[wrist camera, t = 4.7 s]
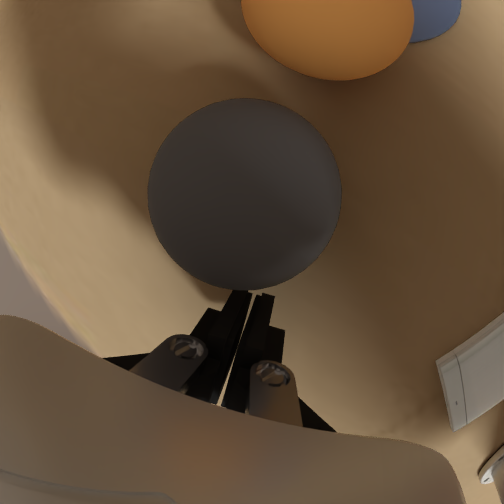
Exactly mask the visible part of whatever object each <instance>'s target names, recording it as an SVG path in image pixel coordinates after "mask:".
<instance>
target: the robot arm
mask: <svg viewBox="0 0 504 504" xmlns="http://www.w3.org/2000/svg"><path fill="white" fill-rule="evenodd" d="M251 298H252V293H249V292H248V290H233V291H232V293H231V295H230V296H229V298H228V300H227V302H226V304H225V305H224V307H223V309H222V311H218V310H215V309H211V308H208V309H207V310H206V312H205V313H204V315H203V316H202V318H201V319H200V321H199V322H198V324H197V325H196V327H195V328H194V330H193V331H192V333H191V334H190V335H184V334H180V335H173V336H171V337H169V338H167V339H166V340H165V341H164V342H162V343H161V344H160V345H159V346H158V347H156V348H155V349H154V350H153V351H152V352H151V353H145V354H137V355H128V356H119V357H108V358H100V357H98V356H97V355H95V354H93V353H91V352H89V351H87V350H85V349H84V348H82V347H80V346H78V345H76V344H75V343H73V342H71V341H69V340H67V339H65V338H64V337H62V336H60V335H58V334H57V333H55V332H53V331H51V330H49V329H47V328H45V327H43V326H41V325H39V324H37V323H35V322H32V321H29V320H27V319H23V318H20V317H16V316H10V315H0V504H466V501H465V498H464V494H463V491H462V488H461V486H460V483H459V481H458V478H457V476H456V474H455V471H454V470H453V468H452V466H451V464H450V463H449V461H448V460H447V459H446V458H445V457H444V456H443V455H442V454H440V453H438V452H437V451H435V450H433V449H431V448H428V447H425V446H422V445H419V444H415V443H411V442H407V441H402V440H395V439H388V438H377V437H368V436H360V435H352V434H343V433H337V432H336V431H335V430H334V429H333V428H332V427H331V426H329V425H328V424H327V423H326V422H325V421H324V420H323V419H322V418H321V417H319V416H318V415H317V414H316V413H315V412H314V411H313V410H312V409H311V408H310V407H309V406H307V405H306V404H305V403H304V402H303V401H302V400H301V399H300V398H299V397H298V393H297V387H296V381H295V377H294V374H293V372H292V371H291V370H290V369H289V368H288V367H286V366H285V365H283V364H281V363H282V355H283V346H284V337H285V330H282V329H279V328H275V327H271V326H269V323H270V318H271V313H272V308H273V303H274V299H275V296H272V295H269V294H265V293H262V296H260V295H256V297H255V300H254V303H253V306H252V309H251V311H250V314H249V317H248V320H247V323H246V325H245V328H244V331H243V334H242V330H243V326H244V323H245V319H246V316H247V312H248V309H249V305H250V301H251ZM241 334H242V336H241ZM240 337H241V339H240ZM239 341H240V342H239ZM238 344H239V345H238ZM236 351H237V352H236ZM235 354H236V355H235ZM234 356H235V359H234ZM233 359H234V362H233ZM232 362H233V366H232V369H231V373H230V376H229V380H228V383H227V387H226V390H225V394H224V397H223V401H222V404H221V406H222V407H220V406H217V405H216V404H217V402H218V399H219V397H220V394H221V391H222V389H223V386H224V383H225V381H226V378H227V375H228V373H229V370H230V367H231V365H232ZM211 403H212V404H211ZM213 404H215V405H213ZM223 407H225V408H223ZM479 480H480V483H482V484H488V483H491V482H494V483H495V486H496V489H497V491H498V494H499V497H500V500H501V503H502V504H504V445H503V446H502V447H501V448H500V449H499V450H498V451H497V452H496V453H495V454H494V455H493V456H492V457H491V458H490V459H489V461H488V462H487V463H486V464H485V465H484V467H483V468H482V470H481V471H480V473H479Z"/></svg>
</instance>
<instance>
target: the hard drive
mask: <svg viewBox="0 0 504 504" xmlns="http://www.w3.org/2000/svg"><path fill="white" fill-rule="evenodd" d="M435 362H436V365H437V369H438V373H439V377H440V380H441V384H442V389H443V393H444V397H445V402H446V406H447V411H448V416H449V422H450V427H451V429H452V431H453V432H455V431H457V430H458V429H460V428H462V427H464V426H465V425H467V424H469V423H470V422H472V421H473V420H475V419H476V418H478V417H479V416H481V415H482V414H484V413H485V412H487V411H488V410H490V409H491V408H493V407H494V406H495V405H497V404H498V403H499V402H501V401H502V400H503V399H504V312H503V313H502V314H500V315H499V316H498V317H497V318H496V319H494V320H493V321H492V322H491V323H489V324H488V325H487V326H485V327H484V328H483V329H481V330H480V331H479V332H477V333H476V334H475V335H473V336H472V337H470V338H469V339H468V340H466V341H465V342H463V343H462V344H461V345H459V346H458V347H456V348H455V349H453V350H452V351H450V352H448V353H447V354H445V355H444V356H442V357H441V358H439V359H437V360H436V361H435Z"/></svg>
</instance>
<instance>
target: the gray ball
mask: <svg viewBox="0 0 504 504" xmlns="http://www.w3.org/2000/svg"><path fill="white" fill-rule="evenodd" d="M341 198H342V188H341V180H340V175H339V170H338V167H337V164H336V161H335V158H334V156H333V153H332V152H331V150H330V148H329V146H328V144H327V143H326V141H325V140H324V138H323V137H322V136H321V134H320V133H319V132H318V131H317V130H316V129H315V128H314V127H313V126H312V125H311V124H310V123H309V122H308V121H307V120H305V119H304V118H303V117H302V116H300V115H299V114H297V113H295V112H294V111H292V110H290V109H288V108H286V107H284V106H282V105H279V104H276V103H273V102H270V101H265V100H259V99H248V98H239V99H230V100H225V101H221V102H217V103H213V104H211V105H208V106H206V107H204V108H202V109H200V110H198V111H196V112H194V113H193V114H191V115H190V116H188V117H187V118H185V119H184V120H183V121H182V122H180V123H179V124H178V125H177V126H176V127H175V128H174V129H173V130H172V131H171V133H170V134H169V135H168V136H167V138H166V139H165V141H164V142H163V143H162V145H161V147H160V149H159V150H158V152H157V154H156V157H155V159H154V162H153V165H152V168H151V171H150V176H149V183H148V208H149V213H150V217H151V222H152V225H153V227H154V230H155V232H156V235H157V237H158V239H159V241H160V243H161V244H162V246H163V247H164V249H165V250H166V251H167V253H168V254H169V255H170V257H171V258H172V259H173V260H174V261H175V262H176V263H177V264H178V265H179V266H180V267H182V268H183V269H184V270H185V271H186V272H188V273H189V274H191V275H192V276H194V277H196V278H197V279H199V280H201V281H203V282H206V283H208V284H211V285H213V286H217V287H221V288H226V289H231V290H258V289H263V288H267V287H271V286H275V285H278V284H280V283H283V282H285V281H287V280H289V279H291V278H293V277H294V276H296V275H298V274H299V273H301V272H302V271H304V270H305V269H306V268H307V267H308V266H309V265H310V264H311V263H312V262H314V261H315V260H316V259H317V258H318V256H319V255H320V254H321V252H322V251H323V250H324V248H325V247H326V245H327V244H328V243H329V241H330V239H331V237H332V235H333V232H334V230H335V228H336V225H337V222H338V218H339V214H340V209H341Z"/></svg>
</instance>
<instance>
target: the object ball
mask: <svg viewBox="0 0 504 504" xmlns="http://www.w3.org/2000/svg"><path fill="white" fill-rule="evenodd" d="M241 6H242V13H243V16H244V19H245V22H246V25H247V27H248V29H249V31H250V33H251V34H252V36H253V37H254V39H255V40H256V41H257V43H258V44H259V45H260V46H261V47H262V48H263V49H264V50H265V51H266V52H267V53H268V54H269V55H270V56H271V57H272V58H274V59H275V60H277V61H278V62H279V63H281V64H283V65H284V66H286V67H288V68H290V69H292V70H294V71H297V72H299V73H301V74H304V75H307V76H310V77H314V78H319V79H325V80H353V79H358V78H363V77H367V76H370V75H373V74H375V73H377V72H379V71H381V70H383V69H385V68H387V67H388V66H389V65H391V64H392V63H393V62H394V61H395V60H397V59H398V57H399V56H400V55H401V54H402V53H403V51H404V50H405V48H406V47H407V45H408V43H409V41H410V38H411V35H412V32H413V26H414V9H413V5H412V0H241Z"/></svg>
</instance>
